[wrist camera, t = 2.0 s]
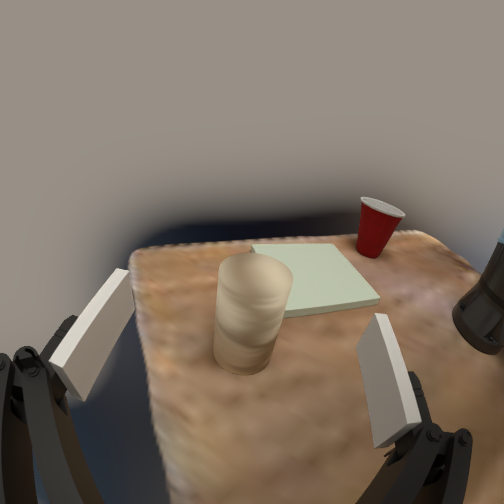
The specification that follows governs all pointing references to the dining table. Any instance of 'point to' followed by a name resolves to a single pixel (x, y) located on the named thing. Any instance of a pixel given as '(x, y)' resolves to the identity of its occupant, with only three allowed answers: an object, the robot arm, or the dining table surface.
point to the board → (319, 279)
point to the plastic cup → (376, 226)
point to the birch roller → (249, 311)
